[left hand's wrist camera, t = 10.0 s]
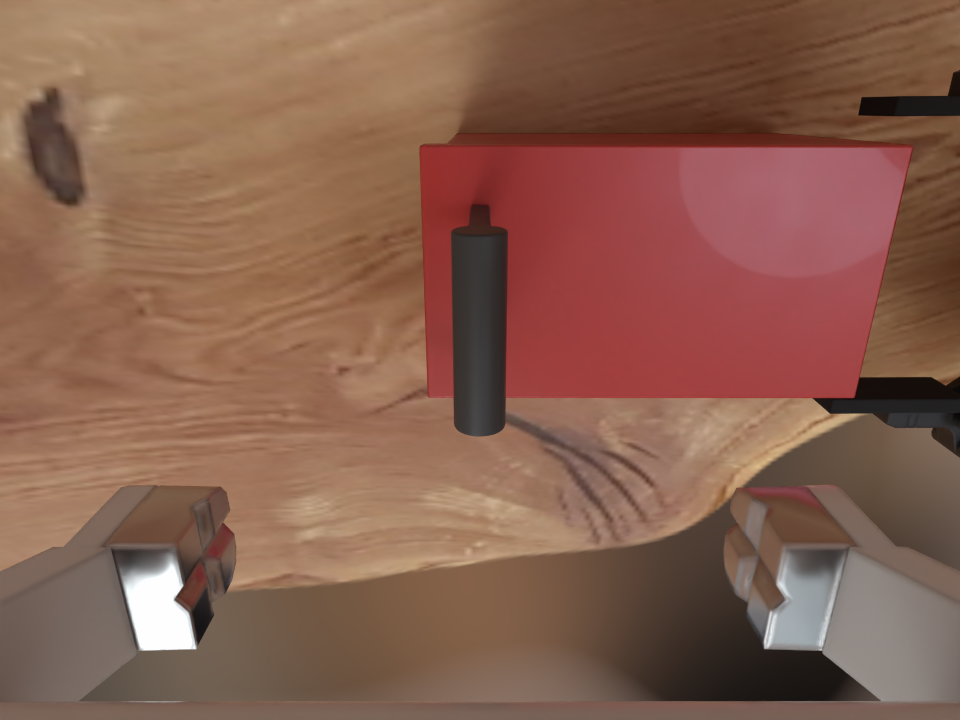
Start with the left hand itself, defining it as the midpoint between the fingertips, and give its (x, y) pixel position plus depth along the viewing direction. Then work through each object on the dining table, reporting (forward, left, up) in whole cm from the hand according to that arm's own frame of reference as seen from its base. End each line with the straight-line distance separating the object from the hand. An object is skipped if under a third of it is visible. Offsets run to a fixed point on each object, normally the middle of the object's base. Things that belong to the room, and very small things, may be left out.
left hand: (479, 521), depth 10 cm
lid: (+5, +4, -17) cm, 18 cm away
